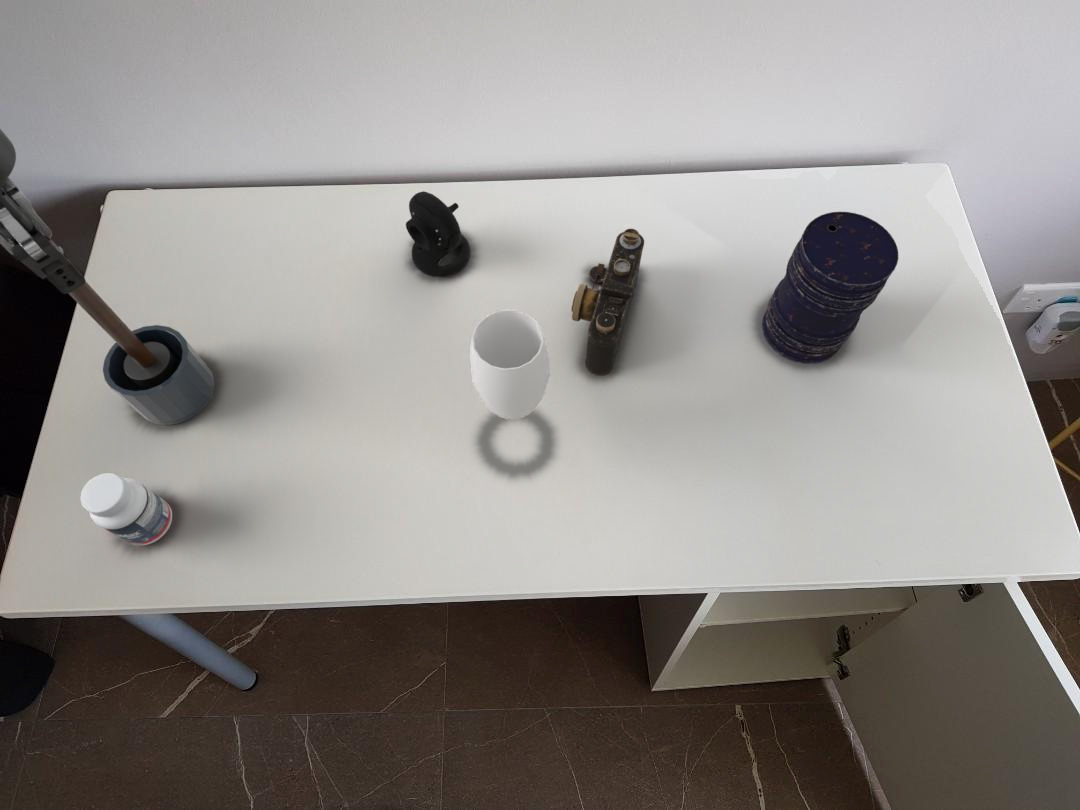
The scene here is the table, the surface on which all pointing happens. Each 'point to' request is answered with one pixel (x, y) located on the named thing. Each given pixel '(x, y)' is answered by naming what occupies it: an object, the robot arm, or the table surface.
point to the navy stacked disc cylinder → (828, 285)
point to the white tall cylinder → (509, 363)
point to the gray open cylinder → (171, 397)
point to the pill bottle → (126, 508)
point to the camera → (609, 301)
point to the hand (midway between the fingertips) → (67, 278)
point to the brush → (129, 342)
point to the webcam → (435, 235)
